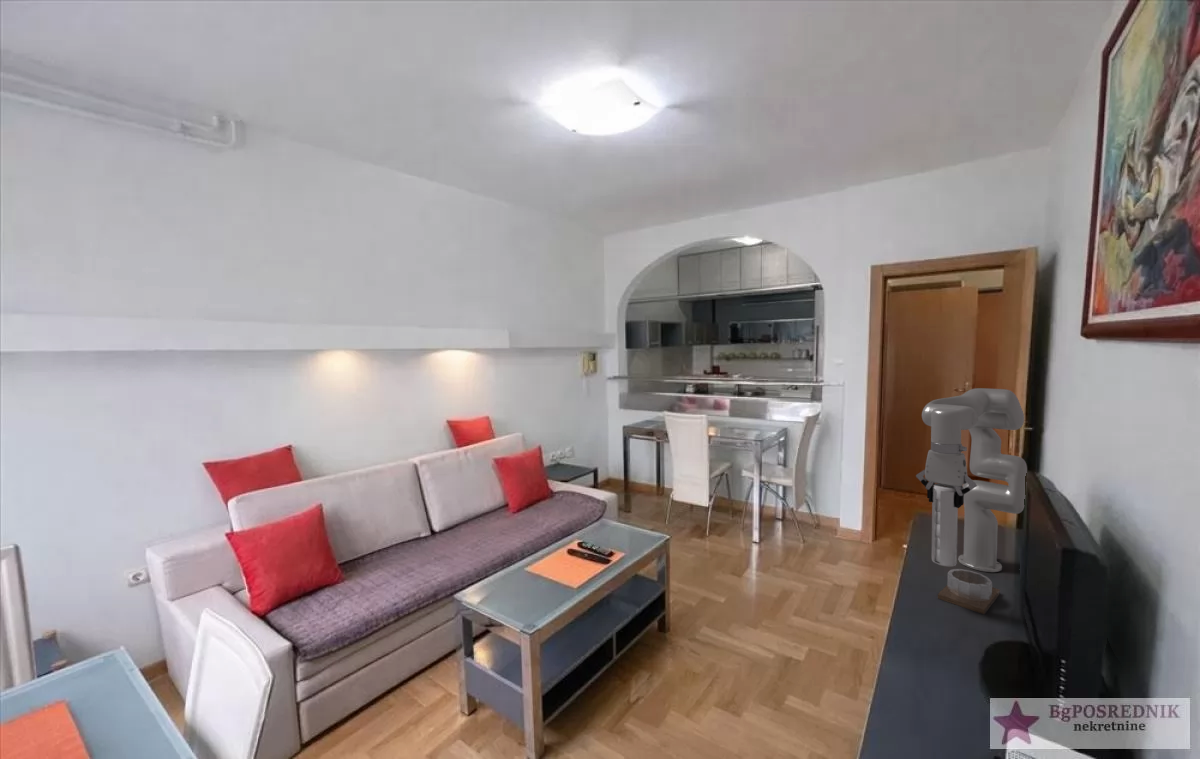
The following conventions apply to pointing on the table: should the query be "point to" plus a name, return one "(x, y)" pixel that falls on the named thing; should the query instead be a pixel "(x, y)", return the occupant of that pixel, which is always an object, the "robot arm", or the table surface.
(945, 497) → the silver long cylinder
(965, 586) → the duct collar
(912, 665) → the table surface
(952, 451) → the robot arm
